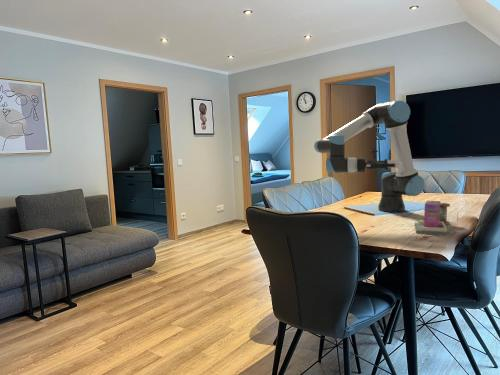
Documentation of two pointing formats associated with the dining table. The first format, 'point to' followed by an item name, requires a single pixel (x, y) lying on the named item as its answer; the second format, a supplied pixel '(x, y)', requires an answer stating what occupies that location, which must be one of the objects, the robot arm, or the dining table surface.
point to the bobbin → (443, 212)
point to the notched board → (432, 228)
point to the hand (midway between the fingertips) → (401, 163)
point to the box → (432, 214)
